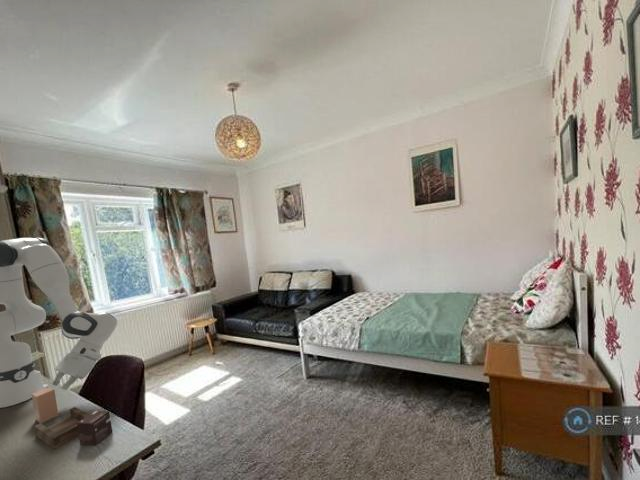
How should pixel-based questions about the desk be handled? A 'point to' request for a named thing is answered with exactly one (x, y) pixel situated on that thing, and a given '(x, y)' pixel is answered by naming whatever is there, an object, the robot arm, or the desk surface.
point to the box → (94, 428)
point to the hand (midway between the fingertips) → (58, 387)
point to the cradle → (61, 429)
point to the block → (45, 405)
